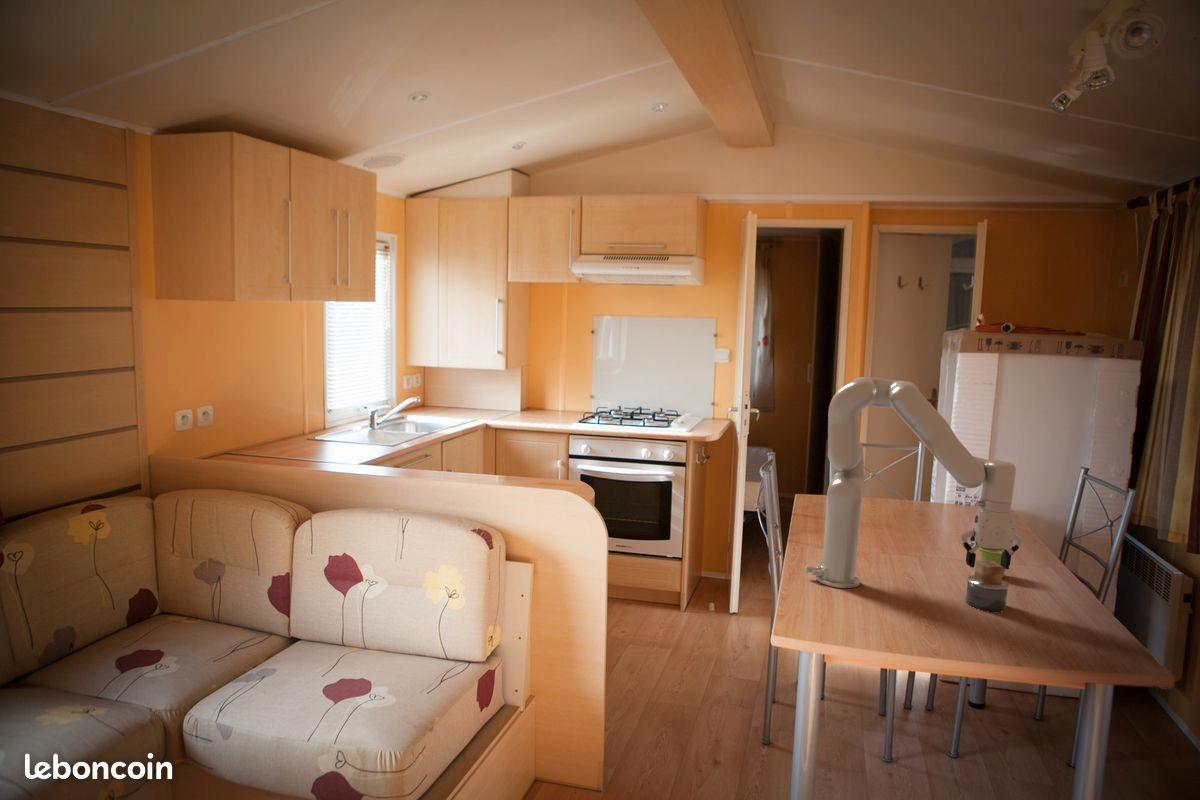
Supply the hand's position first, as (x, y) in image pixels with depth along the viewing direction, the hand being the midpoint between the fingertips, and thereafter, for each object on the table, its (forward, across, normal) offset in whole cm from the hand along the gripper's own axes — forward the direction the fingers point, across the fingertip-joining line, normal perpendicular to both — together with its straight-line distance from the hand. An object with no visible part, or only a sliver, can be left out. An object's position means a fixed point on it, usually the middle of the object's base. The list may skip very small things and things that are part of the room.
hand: (987, 566), depth 222 cm
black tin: (+11, +1, 0) cm, 11 cm away
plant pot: (+11, +17, +26) cm, 33 cm away
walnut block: (+4, 0, 0) cm, 4 cm away
